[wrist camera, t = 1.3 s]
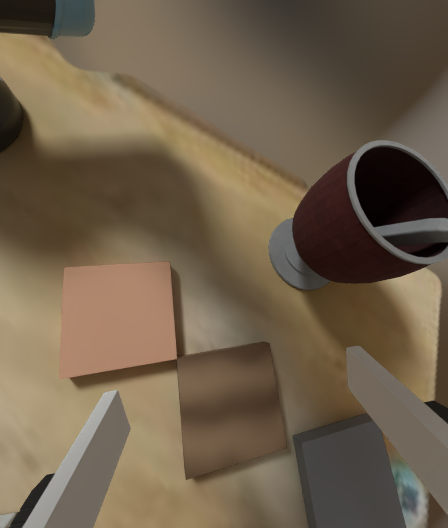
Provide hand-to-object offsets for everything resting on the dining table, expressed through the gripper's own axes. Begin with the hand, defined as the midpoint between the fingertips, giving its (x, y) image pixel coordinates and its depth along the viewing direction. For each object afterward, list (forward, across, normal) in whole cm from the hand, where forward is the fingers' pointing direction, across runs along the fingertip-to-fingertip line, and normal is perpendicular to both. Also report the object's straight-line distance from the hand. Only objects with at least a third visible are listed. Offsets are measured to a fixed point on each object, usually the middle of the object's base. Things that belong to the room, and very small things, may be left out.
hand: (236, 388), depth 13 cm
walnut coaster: (+13, -2, -13) cm, 19 cm away
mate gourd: (+25, +14, 0) cm, 29 cm away
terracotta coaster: (+16, -13, 0) cm, 20 cm away
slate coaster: (+11, +11, -26) cm, 30 cm away
